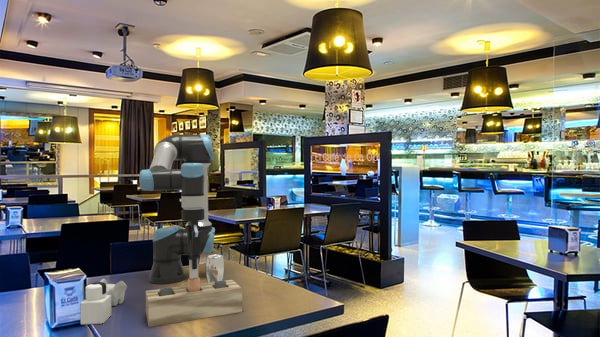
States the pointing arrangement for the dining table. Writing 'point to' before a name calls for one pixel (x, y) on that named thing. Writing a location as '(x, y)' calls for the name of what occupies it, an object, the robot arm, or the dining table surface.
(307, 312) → the dining table surface
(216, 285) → the black plug far
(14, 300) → the dining table surface
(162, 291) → the black plug near
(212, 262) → the beer glass
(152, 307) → the socket block
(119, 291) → the elephant figurine
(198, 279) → the terracotta plug
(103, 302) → the medicine bottle
